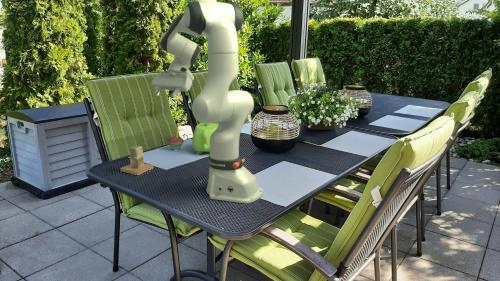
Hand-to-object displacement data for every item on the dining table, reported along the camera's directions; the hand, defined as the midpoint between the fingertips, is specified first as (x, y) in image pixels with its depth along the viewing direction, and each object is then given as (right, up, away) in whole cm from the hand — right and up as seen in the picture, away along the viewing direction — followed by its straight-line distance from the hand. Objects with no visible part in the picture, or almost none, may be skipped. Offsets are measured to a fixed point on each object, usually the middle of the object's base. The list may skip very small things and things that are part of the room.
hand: (164, 96), depth 172 cm
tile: (-11, -34, -5) cm, 37 cm away
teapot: (+20, -26, +26) cm, 42 cm away
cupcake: (0, -25, +26) cm, 37 cm away
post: (-11, -32, -5) cm, 34 cm away
